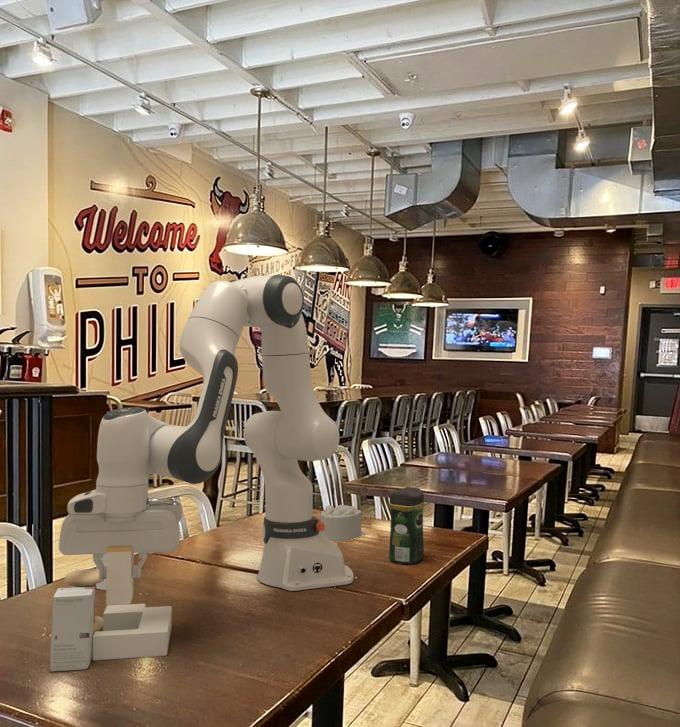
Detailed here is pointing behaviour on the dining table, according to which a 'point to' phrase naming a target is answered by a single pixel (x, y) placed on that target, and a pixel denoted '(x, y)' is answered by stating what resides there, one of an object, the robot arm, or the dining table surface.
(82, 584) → the spool
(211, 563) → the dining table surface
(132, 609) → the notched board
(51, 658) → the skincare box
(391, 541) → the coffee jar
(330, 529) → the lumpy-topped squat cylinder
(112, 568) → the gold trimmed white carton
